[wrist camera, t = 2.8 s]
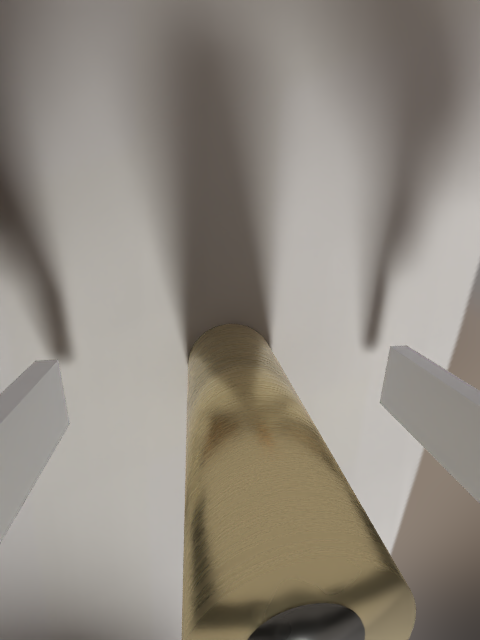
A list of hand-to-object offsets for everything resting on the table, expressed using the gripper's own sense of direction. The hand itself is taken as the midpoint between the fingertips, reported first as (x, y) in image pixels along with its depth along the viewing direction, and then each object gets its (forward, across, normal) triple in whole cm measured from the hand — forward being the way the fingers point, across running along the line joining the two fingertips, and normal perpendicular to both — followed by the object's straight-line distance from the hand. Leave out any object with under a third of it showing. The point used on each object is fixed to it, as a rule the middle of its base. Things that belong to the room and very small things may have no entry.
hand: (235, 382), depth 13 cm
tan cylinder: (+2, 0, 0) cm, 2 cm away
